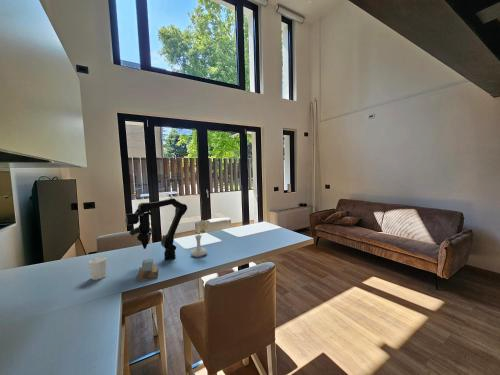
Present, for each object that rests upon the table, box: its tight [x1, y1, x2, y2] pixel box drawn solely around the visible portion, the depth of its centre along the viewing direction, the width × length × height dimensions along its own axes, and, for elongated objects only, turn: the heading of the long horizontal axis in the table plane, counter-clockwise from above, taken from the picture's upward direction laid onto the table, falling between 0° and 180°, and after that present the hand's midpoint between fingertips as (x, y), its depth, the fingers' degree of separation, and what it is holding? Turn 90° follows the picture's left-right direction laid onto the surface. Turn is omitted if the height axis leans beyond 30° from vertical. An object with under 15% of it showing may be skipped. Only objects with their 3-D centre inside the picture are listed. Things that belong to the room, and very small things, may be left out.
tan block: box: [136, 264, 159, 282], centre depth 120 cm, size 10×10×4 cm
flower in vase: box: [190, 219, 209, 258], centre depth 149 cm, size 13×11×25 cm
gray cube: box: [141, 258, 154, 272], centre depth 120 cm, size 5×5×5 cm
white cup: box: [88, 256, 107, 281], centre depth 120 cm, size 8×8×10 cm
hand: (145, 246), depth 134 cm, fingers open, 9 cm apart
